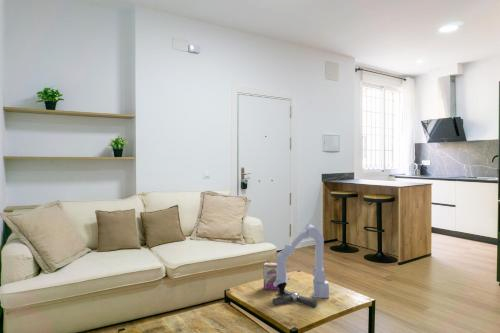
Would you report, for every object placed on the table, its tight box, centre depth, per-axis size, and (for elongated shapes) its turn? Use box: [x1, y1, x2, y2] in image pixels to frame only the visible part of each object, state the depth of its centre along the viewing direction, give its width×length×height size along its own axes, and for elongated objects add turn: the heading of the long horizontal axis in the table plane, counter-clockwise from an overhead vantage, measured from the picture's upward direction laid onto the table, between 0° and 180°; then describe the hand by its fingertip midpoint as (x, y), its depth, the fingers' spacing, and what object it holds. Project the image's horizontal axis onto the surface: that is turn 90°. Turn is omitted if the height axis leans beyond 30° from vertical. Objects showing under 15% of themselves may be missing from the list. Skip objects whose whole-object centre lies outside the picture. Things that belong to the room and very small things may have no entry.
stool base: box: [272, 291, 318, 309], centre depth 196 cm, size 26×11×4 cm, turn 81°
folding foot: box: [277, 288, 292, 297], centre depth 205 cm, size 11×3×3 cm, turn 37°
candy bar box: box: [262, 262, 279, 291], centre depth 218 cm, size 11×5×16 cm, turn 78°
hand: (281, 294), depth 205 cm, fingers closed, pressing on folding foot
